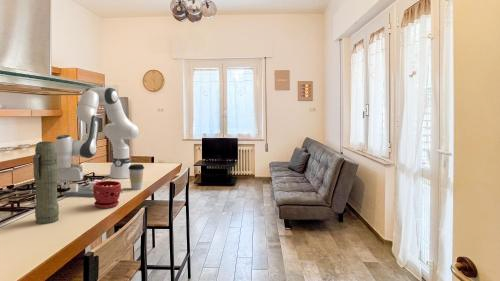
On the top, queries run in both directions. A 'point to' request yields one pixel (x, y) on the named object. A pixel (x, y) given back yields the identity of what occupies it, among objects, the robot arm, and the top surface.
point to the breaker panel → (80, 192)
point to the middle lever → (91, 185)
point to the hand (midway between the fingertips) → (64, 188)
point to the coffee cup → (136, 176)
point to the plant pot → (106, 193)
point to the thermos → (46, 183)
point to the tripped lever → (73, 187)
